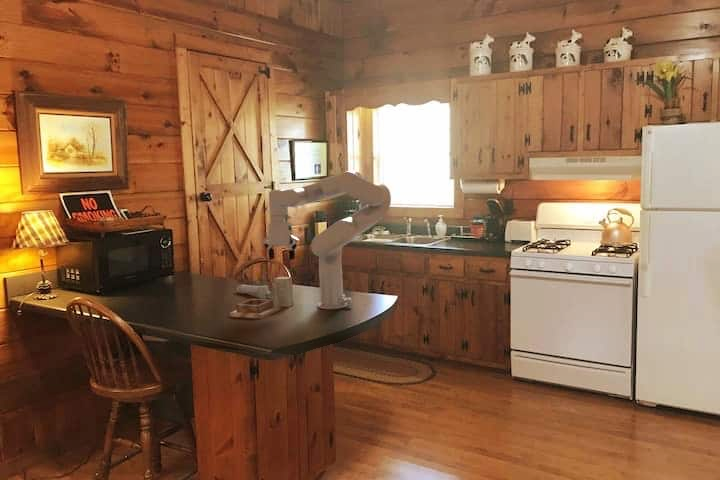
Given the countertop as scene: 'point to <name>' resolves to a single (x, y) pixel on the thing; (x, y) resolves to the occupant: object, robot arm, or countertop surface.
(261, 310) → the socket stand
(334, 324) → the countertop surface
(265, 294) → the white elongated piece
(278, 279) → the skincare box
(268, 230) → the robot arm
